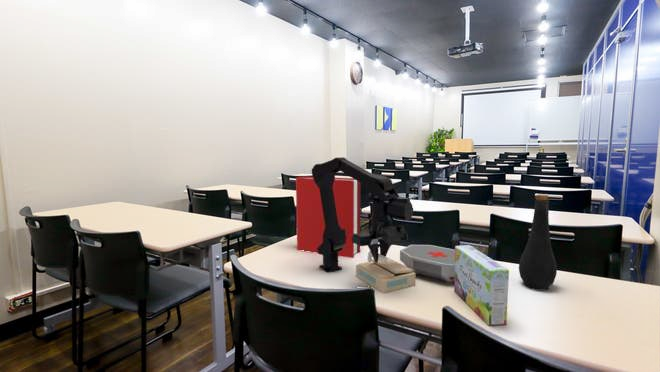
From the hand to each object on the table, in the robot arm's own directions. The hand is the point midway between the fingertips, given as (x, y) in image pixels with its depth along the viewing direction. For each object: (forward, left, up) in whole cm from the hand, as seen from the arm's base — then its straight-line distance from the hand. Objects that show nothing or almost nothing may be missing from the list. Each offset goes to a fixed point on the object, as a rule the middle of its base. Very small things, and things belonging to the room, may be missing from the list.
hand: (379, 261), depth 115 cm
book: (-39, +1, -8) cm, 40 cm away
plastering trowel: (-1, +4, -3) cm, 5 cm away
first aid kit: (+3, +23, -8) cm, 24 cm away
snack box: (+27, +15, -8) cm, 32 cm away
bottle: (+26, +44, -8) cm, 52 cm away
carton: (-1, +3, -7) cm, 8 cm away
